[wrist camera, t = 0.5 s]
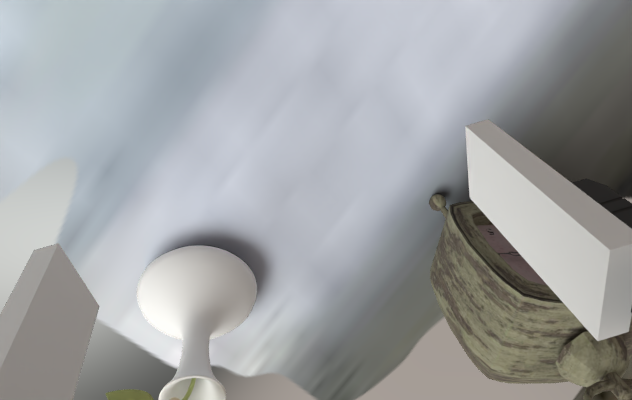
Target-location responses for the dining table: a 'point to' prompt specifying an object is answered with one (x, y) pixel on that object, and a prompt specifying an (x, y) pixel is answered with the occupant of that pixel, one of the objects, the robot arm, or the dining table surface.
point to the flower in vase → (193, 313)
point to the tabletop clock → (516, 312)
